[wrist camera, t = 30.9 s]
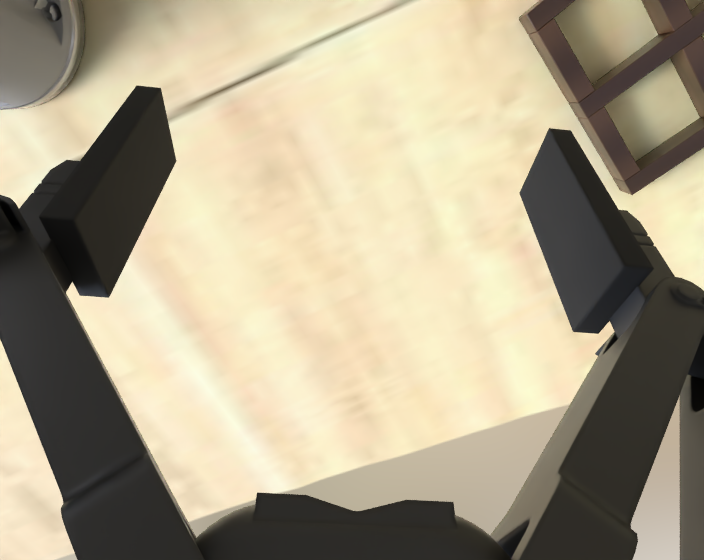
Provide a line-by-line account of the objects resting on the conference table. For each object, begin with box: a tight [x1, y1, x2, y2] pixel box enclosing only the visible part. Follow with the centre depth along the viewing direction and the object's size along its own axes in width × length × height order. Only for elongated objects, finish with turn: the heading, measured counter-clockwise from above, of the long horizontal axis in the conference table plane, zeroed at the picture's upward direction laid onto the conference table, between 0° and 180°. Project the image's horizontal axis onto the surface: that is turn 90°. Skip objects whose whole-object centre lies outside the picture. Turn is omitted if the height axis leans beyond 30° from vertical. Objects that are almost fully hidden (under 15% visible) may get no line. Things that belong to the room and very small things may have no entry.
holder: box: [519, 0, 704, 195], centre depth 35 cm, size 18×18×2 cm
